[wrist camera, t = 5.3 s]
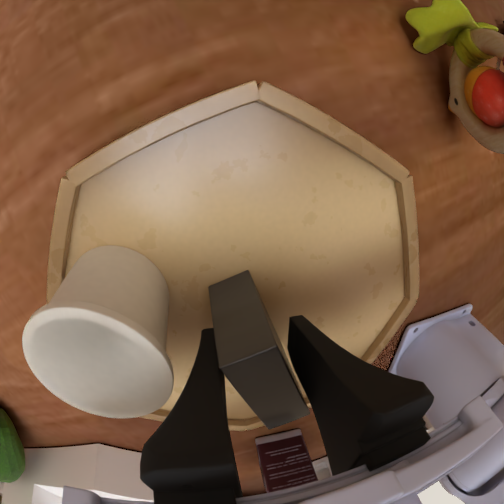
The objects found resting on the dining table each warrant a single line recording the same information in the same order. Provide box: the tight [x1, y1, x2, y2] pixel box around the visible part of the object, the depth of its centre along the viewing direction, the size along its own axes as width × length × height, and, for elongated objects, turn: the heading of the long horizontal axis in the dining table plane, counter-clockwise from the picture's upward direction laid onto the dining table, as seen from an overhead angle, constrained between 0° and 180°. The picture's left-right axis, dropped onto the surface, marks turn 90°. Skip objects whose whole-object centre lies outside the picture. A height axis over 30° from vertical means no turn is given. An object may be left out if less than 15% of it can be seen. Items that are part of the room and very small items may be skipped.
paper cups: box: [22, 245, 174, 418], centre depth 10 cm, size 6×6×5 cm
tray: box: [47, 81, 419, 431], centre depth 12 cm, size 20×20×6 cm
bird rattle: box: [405, 0, 504, 154], centre depth 8 cm, size 6×11×9 cm
